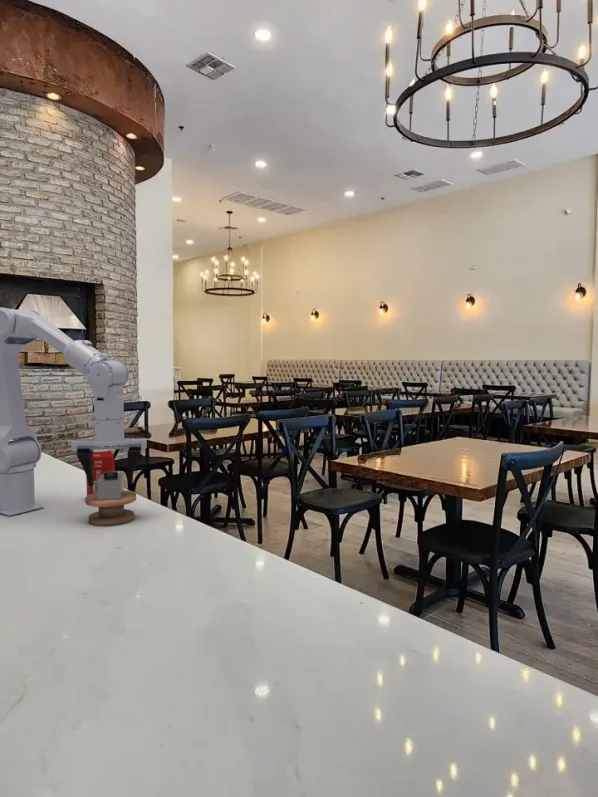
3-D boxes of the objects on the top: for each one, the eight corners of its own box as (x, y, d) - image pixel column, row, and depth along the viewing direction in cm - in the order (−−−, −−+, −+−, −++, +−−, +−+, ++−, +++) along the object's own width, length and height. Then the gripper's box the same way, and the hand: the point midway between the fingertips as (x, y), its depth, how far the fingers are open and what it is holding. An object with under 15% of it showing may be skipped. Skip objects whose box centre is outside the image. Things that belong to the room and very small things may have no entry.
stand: (75, 521, 111) (74, 497, 111) (115, 510, 120) (114, 488, 119) (107, 529, 106) (107, 504, 106) (146, 517, 114) (146, 493, 114)
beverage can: (119, 496, 132) (118, 447, 132) (107, 502, 126) (106, 451, 125) (94, 495, 133) (93, 447, 132) (81, 502, 127) (80, 451, 126)
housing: (97, 500, 108) (97, 476, 108) (101, 492, 115) (101, 469, 115) (121, 499, 109) (120, 475, 109) (124, 491, 116) (123, 468, 116)
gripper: (147, 416, 117) (148, 478, 118) (75, 417, 114) (77, 481, 115) (144, 419, 110) (146, 485, 111) (68, 421, 107) (70, 489, 108)
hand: (110, 484), depth 112 cm, fingers open, 7 cm apart
